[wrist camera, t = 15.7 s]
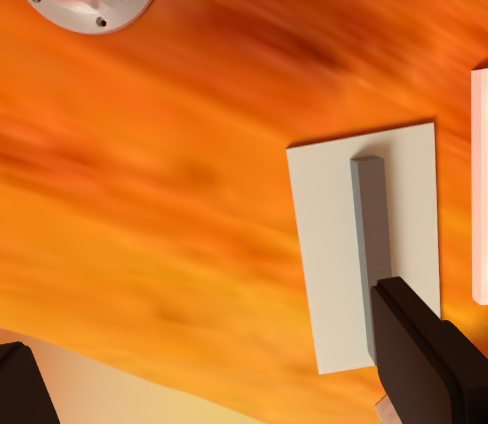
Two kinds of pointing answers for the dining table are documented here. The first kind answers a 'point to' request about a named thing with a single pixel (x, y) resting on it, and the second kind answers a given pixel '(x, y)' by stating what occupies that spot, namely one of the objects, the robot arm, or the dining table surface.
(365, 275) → the rail
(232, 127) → the dining table surface
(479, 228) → the hook rack
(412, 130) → the mat
